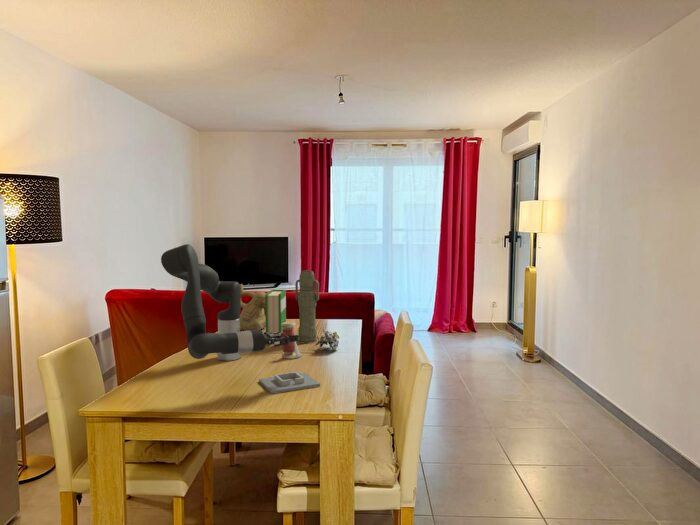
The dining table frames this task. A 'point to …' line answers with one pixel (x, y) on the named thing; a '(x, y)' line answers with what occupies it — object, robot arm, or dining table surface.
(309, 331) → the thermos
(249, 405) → the dining table surface
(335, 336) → the passion flower
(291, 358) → the flask
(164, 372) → the dining table surface
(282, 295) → the hardback book
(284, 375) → the board
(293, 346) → the bobbin
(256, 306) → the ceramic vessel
